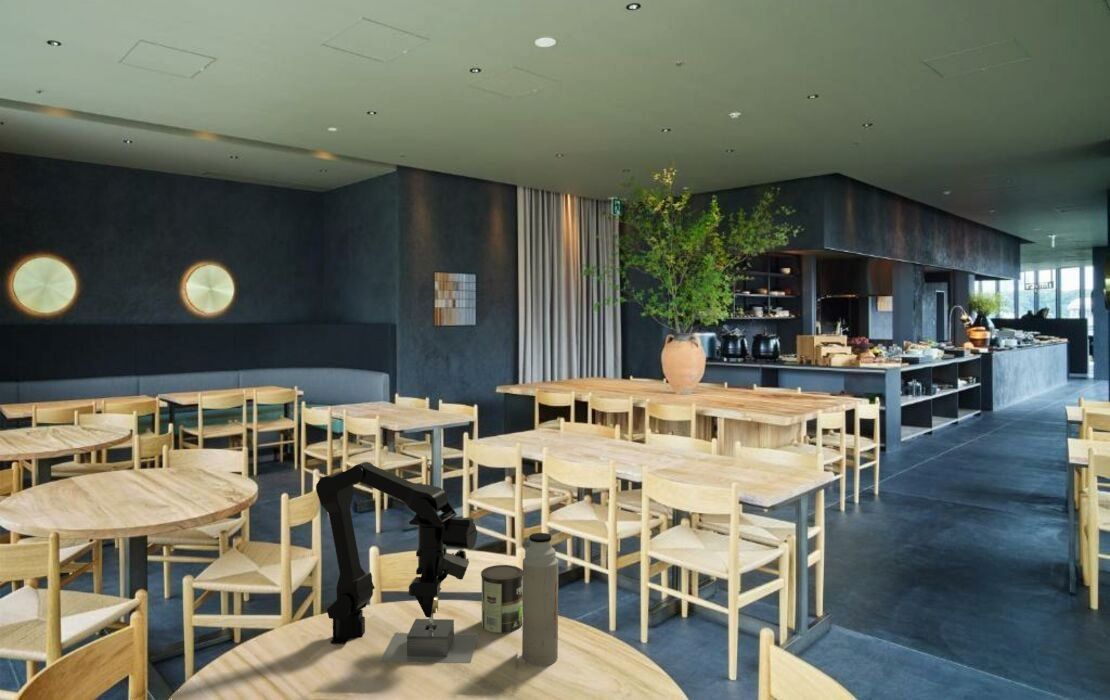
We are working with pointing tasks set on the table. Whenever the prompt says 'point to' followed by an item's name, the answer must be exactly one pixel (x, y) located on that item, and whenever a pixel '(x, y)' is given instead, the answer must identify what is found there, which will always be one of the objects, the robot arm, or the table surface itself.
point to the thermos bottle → (540, 602)
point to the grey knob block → (430, 638)
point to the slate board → (457, 654)
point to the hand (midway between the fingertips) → (430, 611)
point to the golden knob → (434, 610)
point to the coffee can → (502, 598)
